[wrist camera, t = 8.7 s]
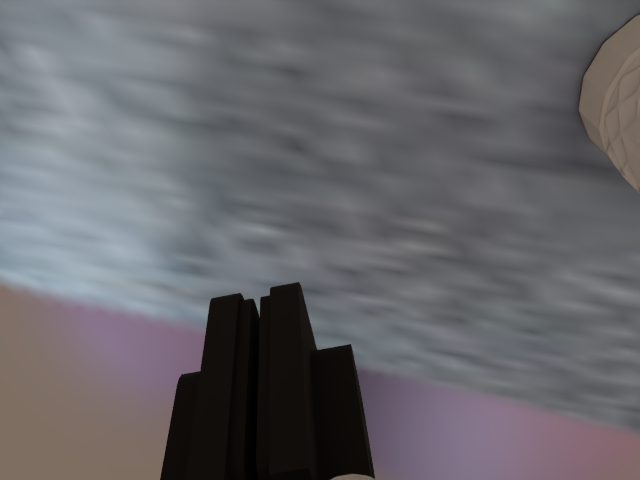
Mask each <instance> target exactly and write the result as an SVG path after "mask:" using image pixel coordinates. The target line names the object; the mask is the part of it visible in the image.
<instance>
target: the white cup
mask: <svg viewBox="0 0 640 480" xmlns="http://www.w3.org/2000/svg"><path fill="white" fill-rule="evenodd" d="M579 113H580V115H581V118H582V121H583V124H584V126H585V129H586V132H587V134H588V137H589V138H590V139H591V140H592V141H593V142H594V143H595V144H596V145H597V146H598V147H599V148H600V149H601V150H602V151H603V152H604V153H605V154H606V155H607V156H608V157H609V158H610V159H611V161H612V162H613V164H614V165H615V167H616V168H617V169H618V171H619V172H620V173H621V175H622V176H623V177H624V178H625V179H626V180H627V181H628V182H629V183H630V185H631V186H632V187H633V188H635V189H636V191H637V192H638V193H639V195H640V15H637V16H635V17H634V18H633V19H632V20H630V21H629V22H628V23H627V24H626V25H624V26H623V27H622V28H621V29H620V30H618V31H617V32H616V33H615V34H614V35H612V36H611V37H610V38H609V39H608V40H606V41H605V42H604V43H603V45H602V47H601V48H600V50H599V52H598V53H597V55H596V56H595V58H594V60H593V61H592V63H591V65H590V66H589V68H588V70H587V71H586V73H585V75H584V77H583V83H582V90H581V96H580V103H579Z"/></svg>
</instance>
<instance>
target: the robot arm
mask: <svg viewBox="0 0 640 480" xmlns="http://www.w3.org/2000/svg"><path fill="white" fill-rule="evenodd" d="M160 480H376V479H375V476H374V469H373V463H372V457H371V451H370V445H369V438H368V432H367V426H366V420H365V414H364V408H363V402H362V397H361V391H360V386H359V380H358V375H357V370H356V366H355V361H354V356H353V351H352V347H351V344H349V345H344V346H338V347H333V348H327V349H322V350H317V348H316V344H315V340H314V336H313V332H312V328H311V324H310V320H309V316H308V312H307V308H306V304H305V300H304V296H303V292H302V289H301V285H300V283H299V282H298V283H292V284H287V285H281V286H276V287H271V288H270V295H269V296H264V297H261V300H260V317H259V314H258V311H257V307H256V304H255V302H254V300H253V299H248V300H244V298H243V296H242V294H241V293H238V294H233V295H227V296H222V297H216V298H212V299H211V301H210V306H209V314H208V321H207V328H206V335H205V342H204V350H203V357H202V364H201V371H200V372H194V373H188V374H182V375H181V377H180V378H179V381H178V384H177V389H176V395H175V400H174V406H173V411H172V417H171V422H170V428H169V434H168V440H167V445H166V451H165V456H164V461H163V467H162V473H161V478H160Z"/></svg>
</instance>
